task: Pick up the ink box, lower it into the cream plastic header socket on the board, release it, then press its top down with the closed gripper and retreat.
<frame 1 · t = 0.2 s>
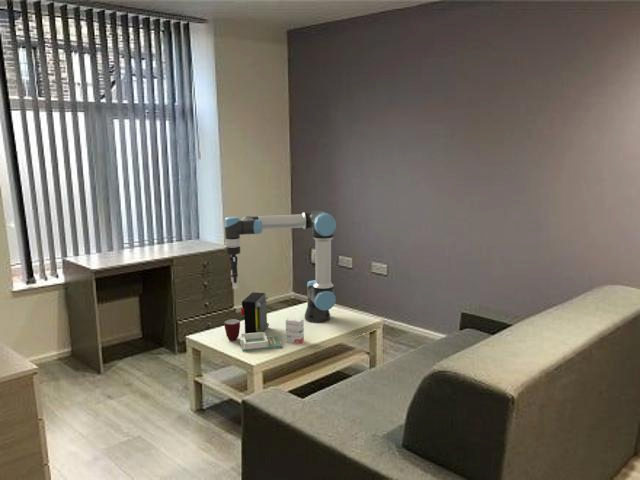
hand: (234, 285, 284), 28 cm above the table, fingers open, 13 cm apart
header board: (260, 344, 274), on the table
electrical component: (256, 332, 292), on the table
mug: (231, 339, 282), on the table
ink box: (294, 341, 278), on the table
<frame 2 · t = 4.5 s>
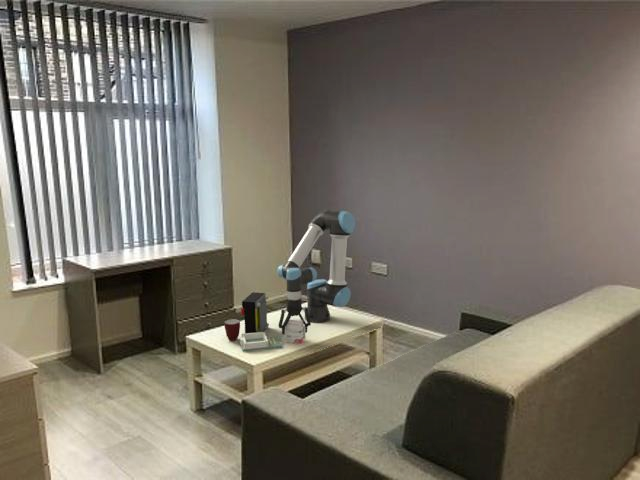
hand: (294, 339, 278), 1 cm above the table, fingers closed on ink box, 9 cm apart
ink box: (294, 341, 278), on the table, touching gripper
everything else where it was.
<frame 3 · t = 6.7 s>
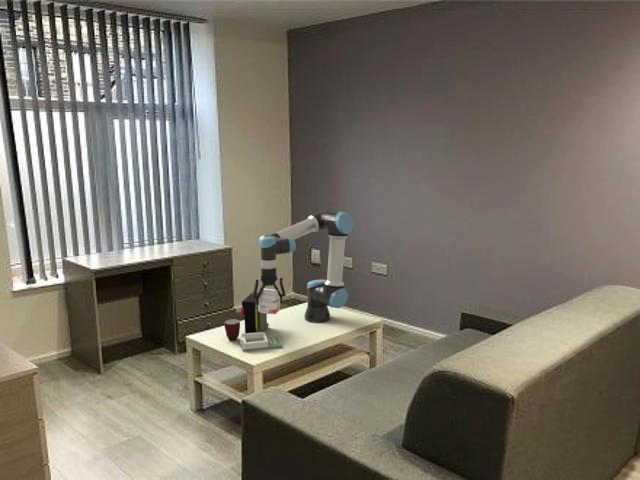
hand: (269, 310, 271), 18 cm above the table, fingers closed on ink box, 9 cm apart
ink box: (269, 312, 272), point 17 cm above the table, touching gripper
everything else where it was.
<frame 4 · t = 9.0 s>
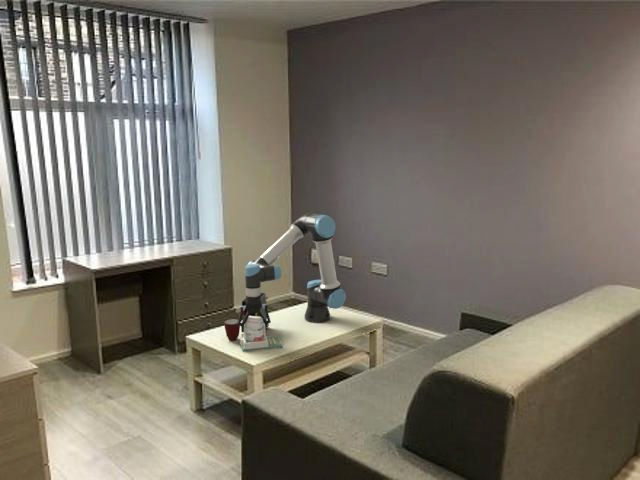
hand: (254, 337, 272), 4 cm above the table, fingers closed on ink box, 9 cm apart
ink box: (254, 339, 273), point 3 cm above the table, touching gripper
everything else where it was.
when the fingers open (4 cm above the table, at t = 9.3 s): ink box drops 2 cm, resting on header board.
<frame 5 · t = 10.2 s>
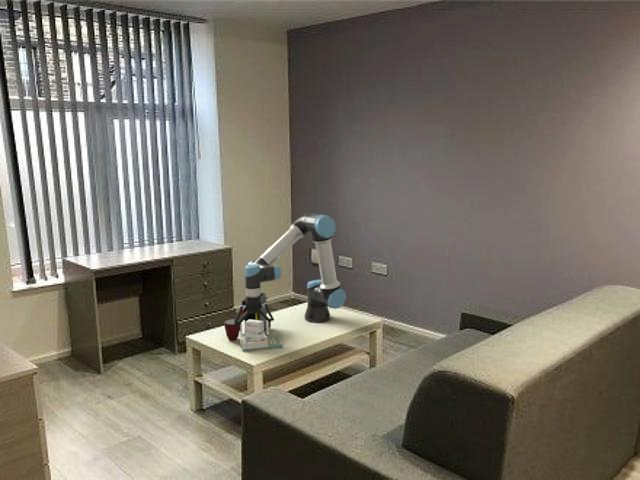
hand: (254, 335, 272), 5 cm above the table, fingers open, 13 cm apart
ink box: (255, 343, 273), point 1 cm above the table, touching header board
everything else where it was.
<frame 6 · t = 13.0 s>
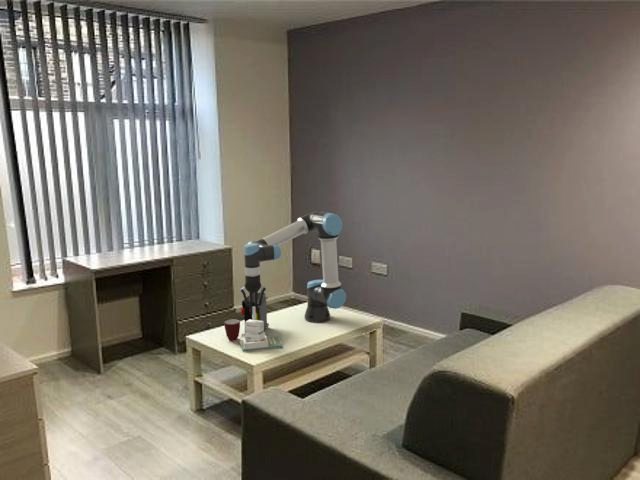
hand: (254, 319, 271), 14 cm above the table, fingers closed
nothing on the table moved.
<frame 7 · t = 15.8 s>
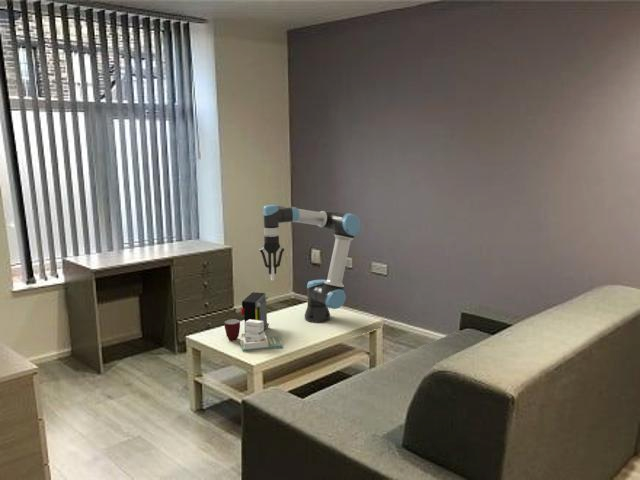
hand: (272, 279, 276), 32 cm above the table, fingers closed
nothing on the table moved.
at the end: ink box 0.1 cm from the target spot on the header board, point 1.0 cm above the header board's base; ink box tilted 0°; the gripper is holding nothing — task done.
